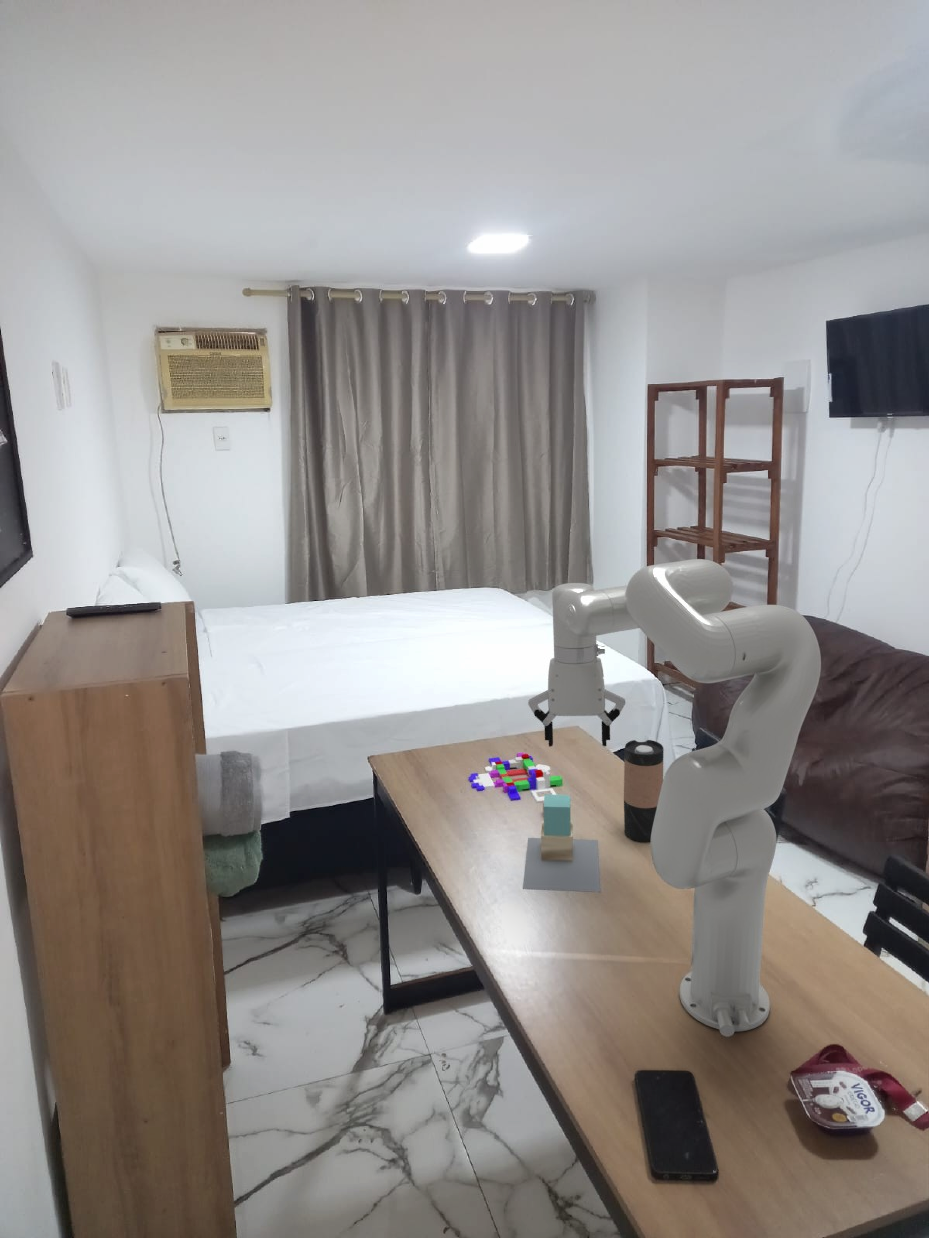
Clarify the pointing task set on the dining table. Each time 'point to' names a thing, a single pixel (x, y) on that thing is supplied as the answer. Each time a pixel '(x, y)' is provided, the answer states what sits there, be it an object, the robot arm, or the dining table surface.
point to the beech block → (556, 846)
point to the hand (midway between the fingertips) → (577, 743)
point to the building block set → (536, 779)
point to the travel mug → (641, 788)
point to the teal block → (557, 815)
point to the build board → (563, 868)
